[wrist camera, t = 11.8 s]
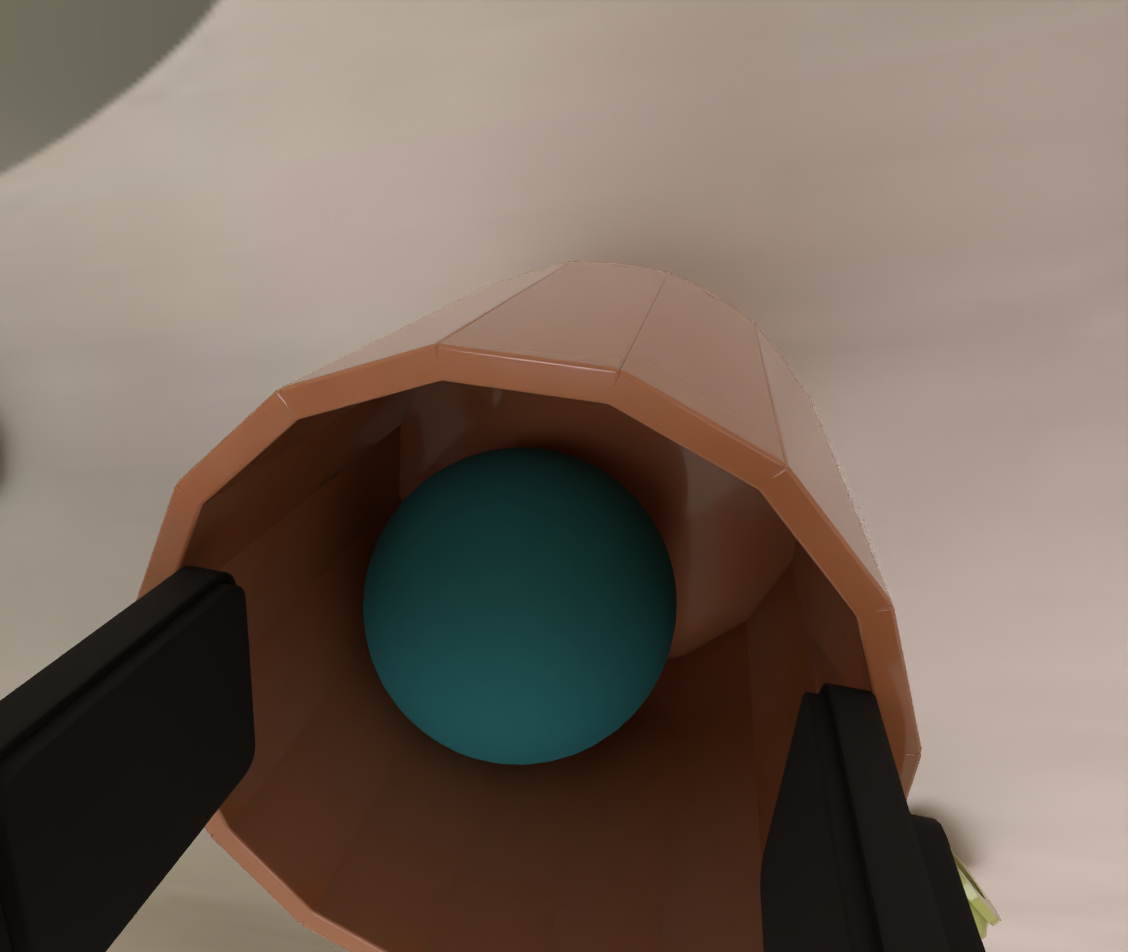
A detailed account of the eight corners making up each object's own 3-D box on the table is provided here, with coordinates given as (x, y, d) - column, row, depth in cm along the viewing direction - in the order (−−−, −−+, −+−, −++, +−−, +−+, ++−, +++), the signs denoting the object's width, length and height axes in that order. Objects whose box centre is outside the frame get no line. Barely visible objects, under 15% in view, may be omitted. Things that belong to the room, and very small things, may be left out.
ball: (736, 435, 14) (588, 713, 11) (708, 627, 18) (596, 874, 15) (453, 354, 16) (248, 561, 13) (486, 543, 21) (340, 741, 17)
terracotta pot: (868, 291, 16) (1032, 425, 8) (773, 697, 19) (813, 1087, 11) (396, 236, 17) (94, 297, 9) (391, 626, 21) (173, 929, 12)
